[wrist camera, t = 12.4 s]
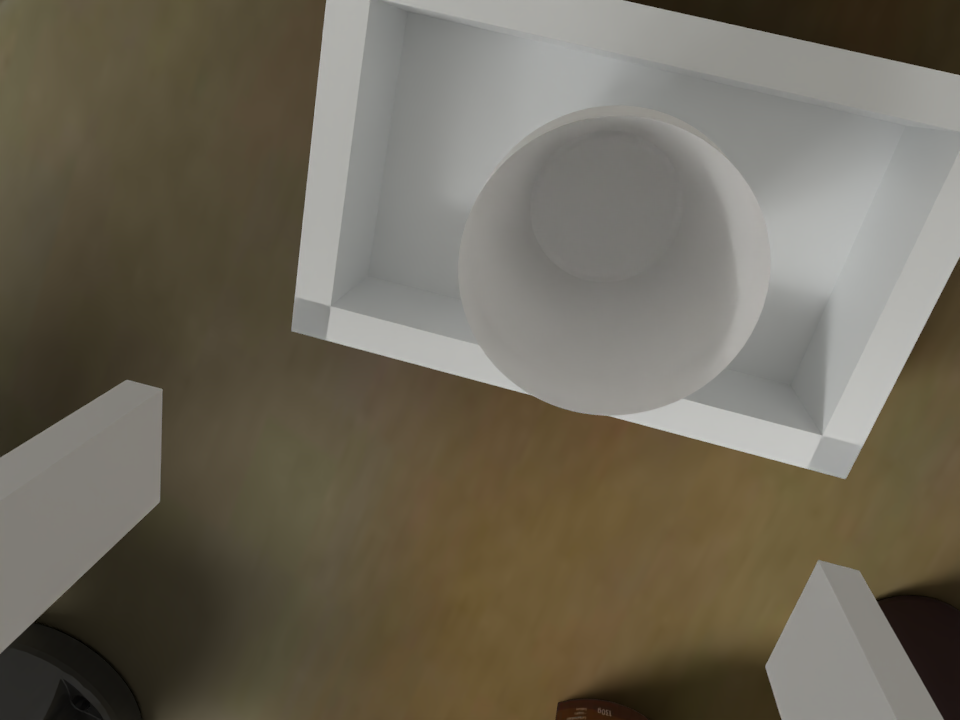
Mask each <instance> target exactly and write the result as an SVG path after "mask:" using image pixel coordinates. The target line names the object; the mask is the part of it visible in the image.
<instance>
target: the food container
mask: <svg viewBox="0 0 960 720" xmlns="http://www.w3.org/2000/svg"><path fill="white" fill-rule="evenodd" d="M556 720H649V719H648V718H646V717H645V716H644V715H642V714H641V713H639V712H637V711H635V710H633V709H631V708H629V707H626V706H624V705H621V704H618V703H614V702H610V701H605V700H598V699H575V700H568V701H563V702H559V703H558V706H557V713H556Z"/></svg>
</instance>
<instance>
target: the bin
mask: <svg viewBox="0 0 960 720" xmlns="http://www.w3.org/2000/svg"><path fill="white" fill-rule="evenodd" d="M610 105H625V106H635V107H642V108H647V109H652V110H656V111H659V112H662V113H665V114H668V115H671V116H673V117H675V118H677V119H680V120H682V121H684V122H686V123H687V124H689V125H691V126H692V127H694V128H696V129H697V130H699V131H700V132H701V133H703V134H704V135H705V136H707V137H708V138H709V139H710V140H711V141H712V142H713V143H714V144H716V145H717V146H718V147H719V148H720V150H721V151H722V152H723V153H724V154H725V155H726V156H727V158H728V159H729V160H730V162H731V163H732V164H733V165H734V167H735V168H736V169H737V170H738V171H739V172H740V173H741V175H742V176H743V178H744V179H745V181H746V182H747V184H748V185H749V186H750V188H751V190H752V192H753V194H754V196H755V197H756V199H757V201H758V204H759V206H760V209H761V211H762V214H763V217H764V220H765V224H766V227H767V232H768V238H769V243H770V257H771V264H770V279H769V285H768V291H767V295H766V299H765V303H764V306H763V309H762V312H761V314H760V317H759V320H758V322H757V324H756V326H755V328H754V330H753V332H752V334H751V335H750V337H749V338H748V340H747V342H746V343H745V345H744V346H743V348H742V349H741V350H740V352H739V353H738V354H737V356H736V357H735V358H734V359H733V360H732V361H731V362H730V363H729V365H728V366H727V367H726V368H725V369H724V370H723V371H722V372H720V373H719V374H718V375H717V376H716V377H715V378H714V379H712V380H711V381H710V382H708V383H707V384H706V385H704V386H703V387H702V388H700V389H698V390H697V391H695V392H693V393H692V394H690V395H688V396H686V397H684V398H682V399H680V400H678V401H676V402H674V403H671V404H669V405H666V406H663V407H660V408H657V409H653V410H650V411H645V412H640V413H635V414H627V415H607V416H611V417H615V418H619V419H622V420H626V421H630V422H634V423H637V424H641V425H645V426H649V427H652V428H656V429H660V430H664V431H667V432H671V433H675V434H679V435H682V436H686V437H690V438H694V439H697V440H701V441H705V442H708V443H712V444H716V445H720V446H723V447H727V448H731V449H735V450H738V451H742V452H746V453H750V454H753V455H757V456H761V457H765V458H768V459H772V460H776V461H780V462H783V463H787V464H791V465H795V466H798V467H802V468H806V469H810V470H813V471H817V472H821V473H825V474H828V475H832V476H836V477H840V478H843V479H846V478H847V476H848V474H849V472H850V470H851V468H852V466H853V464H854V462H855V460H856V458H857V456H858V454H859V452H860V450H861V448H862V446H863V444H864V442H865V441H866V439H867V437H868V435H869V433H870V431H871V429H872V427H873V425H874V423H875V421H876V419H877V417H878V415H879V413H880V411H881V409H882V407H883V405H884V403H885V402H886V400H887V398H888V396H889V394H890V392H891V390H892V388H893V386H894V384H895V382H896V380H897V378H898V376H899V374H900V372H901V370H902V368H903V366H904V364H905V363H906V361H907V359H908V357H909V355H910V353H911V351H912V349H913V347H914V345H915V343H916V341H917V339H918V337H919V335H920V333H921V331H922V329H923V327H924V325H925V324H926V322H927V320H928V318H929V316H930V314H931V312H932V310H933V308H934V306H935V304H936V302H937V300H938V298H939V296H940V294H941V292H942V290H943V288H944V286H945V285H946V283H947V281H948V279H949V277H950V275H951V273H952V271H953V269H954V267H955V265H956V263H957V261H958V259H959V257H960V75H956V74H952V73H947V72H943V71H938V70H934V69H929V68H925V67H921V66H916V65H912V64H907V63H903V62H898V61H894V60H889V59H885V58H880V57H876V56H871V55H867V54H862V53H858V52H853V51H849V50H844V49H840V48H835V47H831V46H826V45H822V44H817V43H813V42H808V41H804V40H799V39H795V38H790V37H786V36H781V35H777V34H772V33H768V32H763V31H759V30H754V29H750V28H745V27H741V26H736V25H732V24H727V23H723V22H718V21H714V20H709V19H705V18H700V17H696V16H691V15H687V14H682V13H678V12H673V11H669V10H664V9H660V8H655V7H651V6H646V5H642V4H638V3H633V2H629V1H624V0H326V8H325V17H324V27H323V36H322V46H321V55H320V64H319V74H318V83H317V93H316V102H315V111H314V121H313V130H312V140H311V149H310V158H309V168H308V177H307V187H306V196H305V205H304V215H303V224H302V234H301V243H300V252H299V262H298V271H297V281H296V290H295V300H294V309H293V318H292V328H291V331H293V332H297V333H300V334H304V335H308V336H312V337H315V338H319V339H323V340H327V341H330V342H334V343H338V344H342V345H345V346H349V347H353V348H357V349H360V350H364V351H368V352H372V353H375V354H379V355H383V356H387V357H390V358H394V359H398V360H401V361H405V362H409V363H413V364H416V365H420V366H424V367H428V368H431V369H435V370H439V371H443V372H446V373H450V374H454V375H458V376H461V377H465V378H469V379H473V380H476V381H480V382H484V383H488V384H491V385H495V386H499V387H503V388H506V389H510V390H514V391H518V392H521V393H525V394H529V393H527V392H526V391H524V390H523V389H521V388H520V387H518V386H517V385H516V384H514V383H513V382H512V381H511V380H509V379H508V378H507V377H506V376H505V375H504V374H503V373H502V372H501V371H500V370H499V369H498V368H497V367H496V366H495V365H494V364H493V363H492V361H491V360H490V359H489V358H488V357H487V355H486V354H485V352H484V351H483V350H482V348H481V347H480V345H479V343H478V342H477V340H476V338H475V336H474V334H473V332H472V330H471V328H470V326H469V323H468V321H467V318H466V315H465V312H464V309H463V305H462V301H461V296H460V289H459V281H458V260H459V250H460V244H461V239H462V235H463V231H464V228H465V224H466V221H467V219H468V216H469V214H470V211H471V209H472V207H473V205H474V203H475V201H476V199H477V197H478V195H479V194H480V192H481V191H482V189H483V187H484V186H485V184H486V182H487V180H488V179H489V177H490V175H491V174H492V172H493V171H494V169H495V168H496V166H497V165H498V164H499V163H500V161H501V160H502V159H503V158H504V156H505V155H506V154H507V153H508V152H509V151H510V150H511V149H512V148H513V147H514V146H515V145H516V144H518V143H519V142H520V141H521V140H522V139H523V138H525V137H526V136H527V135H529V134H530V133H532V132H533V131H534V130H536V129H537V128H539V127H541V126H543V125H544V124H546V123H548V122H550V121H552V120H554V119H556V118H559V117H561V116H563V115H566V114H569V113H572V112H575V111H578V110H583V109H587V108H592V107H600V106H610ZM529 395H531V394H529Z"/></svg>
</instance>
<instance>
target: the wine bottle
mask: <svg viewBox="0 0 960 720" xmlns="http://www.w3.org/2000/svg"><path fill="white" fill-rule="evenodd" d="M877 603H878V605H879V606H880V608H881V610H882V612H883V613H884V615H885V617H886V619H887V620H888V622H889V624H890V626H891V627H892V629H893V631H894V633H895V635H896V636H897V638H898V640H899V642H900V643H901V645H902V647H903V649H904V650H905V652H906V654H907V656H908V657H909V659H910V661H911V663H912V665H913V666H914V668H915V670H916V672H917V673H918V675H919V677H920V679H921V680H922V682H923V684H924V686H925V687H926V689H927V691H928V693H929V694H930V696H931V698H932V700H933V702H934V703H935V705H936V707H937V709H938V710H939V712H940V714H941V716H942V717H943V719H944V720H960V611H959V610H957V609H956V608H954V607H953V606H951V605H950V604H947V603H945V602H943V601H940V600H937V599H933V598H929V597H924V596H913V595H910V596H896V597H891V598H886V599H883V600H880V601H877Z"/></svg>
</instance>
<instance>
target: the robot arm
mask: <svg viewBox="0 0 960 720" xmlns="http://www.w3.org/2000/svg"><path fill="white" fill-rule="evenodd" d="M162 392H163V389H161V388H157V387H153V386H149V385H145V384H142V383H138V382H134V381H130V380H125V381H124V382H122V383H120V384H119V385H117V386H116V387H114V388H112V389H111V390H109V391H107V392H106V393H104V394H103V395H101V396H99V397H98V398H96V399H94V400H93V401H91V402H90V403H88V404H86V405H85V406H83V407H81V408H80V409H78V410H77V411H75V412H73V413H72V414H70V415H69V416H67V417H65V418H64V419H62V420H60V421H59V422H57V423H56V424H54V425H52V426H51V427H49V428H47V429H46V430H44V431H43V432H41V433H39V434H38V435H36V436H34V437H33V438H31V439H30V440H28V441H26V442H25V443H23V444H21V445H20V446H18V447H17V448H15V449H13V450H12V451H10V452H9V453H7V454H5V455H4V456H2V457H0V720H141V715H140V711H139V708H138V706H137V703H136V701H135V699H134V697H133V695H132V693H131V691H130V690H129V688H128V687H127V685H126V684H125V682H124V681H123V680H122V678H121V677H120V676H119V675H118V673H117V672H116V671H115V670H114V669H113V668H112V667H111V666H110V665H109V664H108V663H107V662H106V661H105V660H104V659H102V658H101V657H100V656H99V655H98V654H96V653H95V652H94V651H93V650H91V649H90V648H88V647H87V646H85V645H84V644H82V643H81V642H79V641H77V640H76V639H74V638H72V637H70V636H68V635H66V634H64V633H62V632H60V631H57V630H55V629H52V628H49V627H46V626H43V625H40V624H36V623H33V622H34V621H35V620H36V619H37V618H38V617H39V616H41V615H42V614H43V613H44V612H45V611H46V610H47V609H48V608H49V607H50V606H51V605H52V604H53V603H54V602H55V601H56V600H57V599H58V598H59V597H61V596H62V595H63V594H64V593H65V592H66V591H67V590H68V589H69V588H70V587H71V586H72V585H73V584H74V583H75V582H76V581H77V580H78V579H79V578H81V577H82V576H83V575H84V574H85V573H86V572H87V571H88V570H89V569H90V568H91V567H92V566H93V565H94V564H95V563H96V562H97V561H98V560H99V559H101V558H102V557H103V556H104V555H105V554H106V553H107V552H108V551H109V550H110V549H111V548H112V547H113V546H114V545H115V544H116V543H117V542H118V541H119V540H121V539H122V538H123V537H124V536H125V535H126V534H127V533H128V532H129V531H130V530H131V529H132V528H133V527H134V526H135V525H136V524H137V523H138V522H139V521H141V520H142V519H143V518H144V517H145V516H146V515H147V514H148V513H149V512H150V511H151V510H152V509H153V508H154V507H155V506H156V505H157V504H158V503H159V502H160V481H161V436H162ZM765 668H766V671H767V674H768V677H769V681H770V684H771V687H772V690H773V694H774V697H775V700H776V703H777V707H778V710H779V713H780V716H781V720H944V719H943V717H942V716H941V714H940V712H939V710H938V709H937V707H936V705H935V703H934V702H933V700H932V698H931V696H930V694H929V693H928V691H927V689H926V687H925V686H924V684H923V682H922V680H921V679H920V677H919V675H918V673H917V672H916V670H915V668H914V666H913V665H912V663H911V661H910V659H909V657H908V656H907V654H906V652H905V650H904V649H903V647H902V645H901V643H900V642H899V640H898V638H897V636H896V635H895V633H894V631H893V629H892V627H891V626H890V624H889V622H888V620H887V619H886V617H885V615H884V613H883V612H882V610H881V608H880V606H879V605H878V603H877V601H876V599H875V598H874V596H873V594H872V592H871V590H870V589H869V587H868V585H867V583H866V582H865V580H864V578H863V576H862V575H861V573H860V571H859V570H855V569H851V568H847V567H843V566H839V565H836V564H832V563H828V562H824V561H820V560H818V562H817V564H816V566H815V568H814V570H813V572H812V574H811V576H810V578H809V580H808V582H807V584H806V586H805V588H804V590H803V592H802V594H801V596H800V598H799V600H798V602H797V604H796V606H795V608H794V610H793V612H792V614H791V616H790V618H789V620H788V622H787V624H786V626H785V628H784V630H783V632H782V634H781V636H780V638H779V640H778V642H777V644H776V646H775V648H774V650H773V652H772V654H771V656H770V658H769V660H768V662H767V664H766V666H765Z"/></svg>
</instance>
